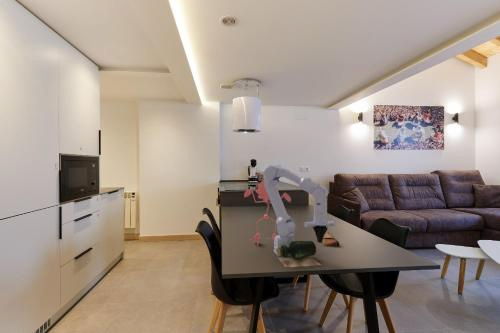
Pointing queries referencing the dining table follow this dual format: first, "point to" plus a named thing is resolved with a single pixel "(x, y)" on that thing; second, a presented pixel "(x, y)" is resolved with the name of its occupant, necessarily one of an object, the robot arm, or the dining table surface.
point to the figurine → (265, 197)
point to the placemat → (298, 262)
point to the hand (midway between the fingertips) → (319, 242)
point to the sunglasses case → (330, 240)
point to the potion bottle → (297, 249)
